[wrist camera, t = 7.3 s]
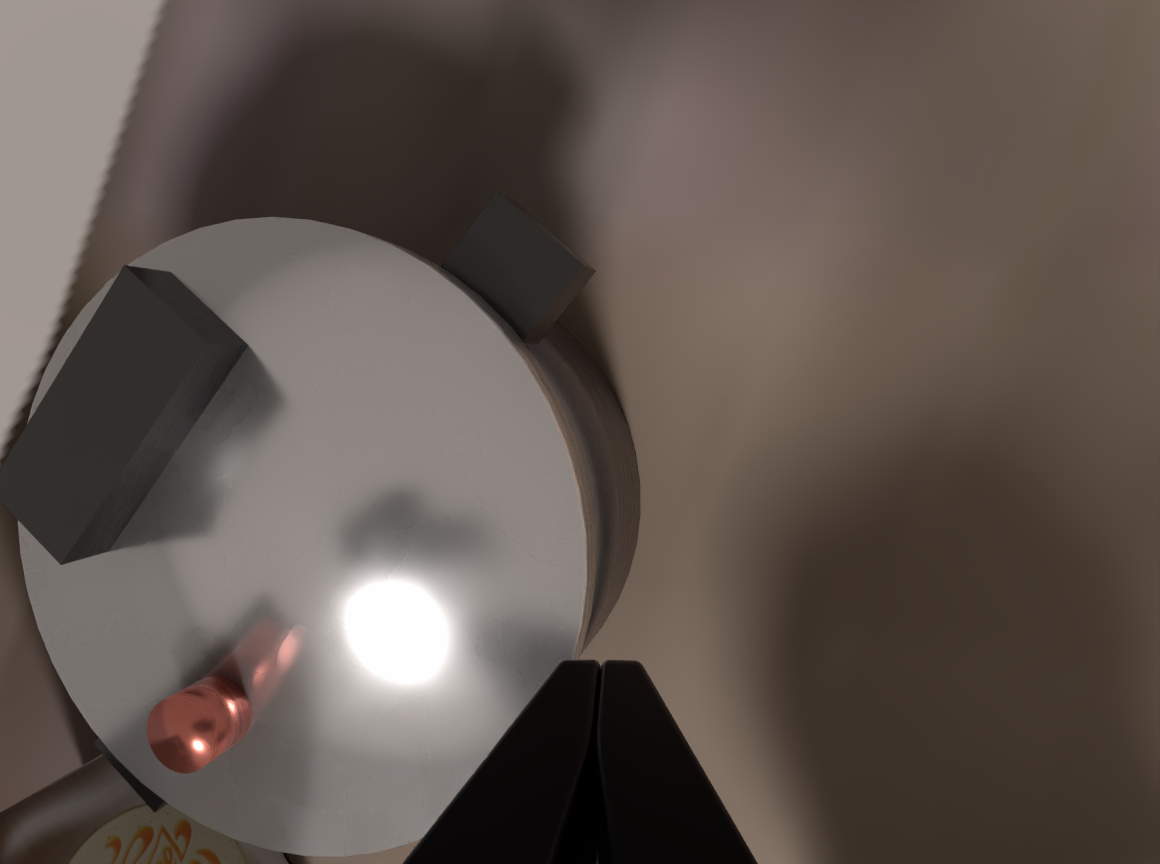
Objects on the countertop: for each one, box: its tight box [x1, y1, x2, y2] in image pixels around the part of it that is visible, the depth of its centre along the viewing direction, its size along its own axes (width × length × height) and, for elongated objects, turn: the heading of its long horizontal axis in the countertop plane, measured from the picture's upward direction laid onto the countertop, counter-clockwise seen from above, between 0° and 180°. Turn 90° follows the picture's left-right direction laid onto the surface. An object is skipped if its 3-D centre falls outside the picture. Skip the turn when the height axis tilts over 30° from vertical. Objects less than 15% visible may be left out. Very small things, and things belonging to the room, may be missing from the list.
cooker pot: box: [93, 191, 640, 813], centre depth 20 cm, size 14×17×6 cm
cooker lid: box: [0, 217, 596, 857], centre depth 16 cm, size 14×14×2 cm
